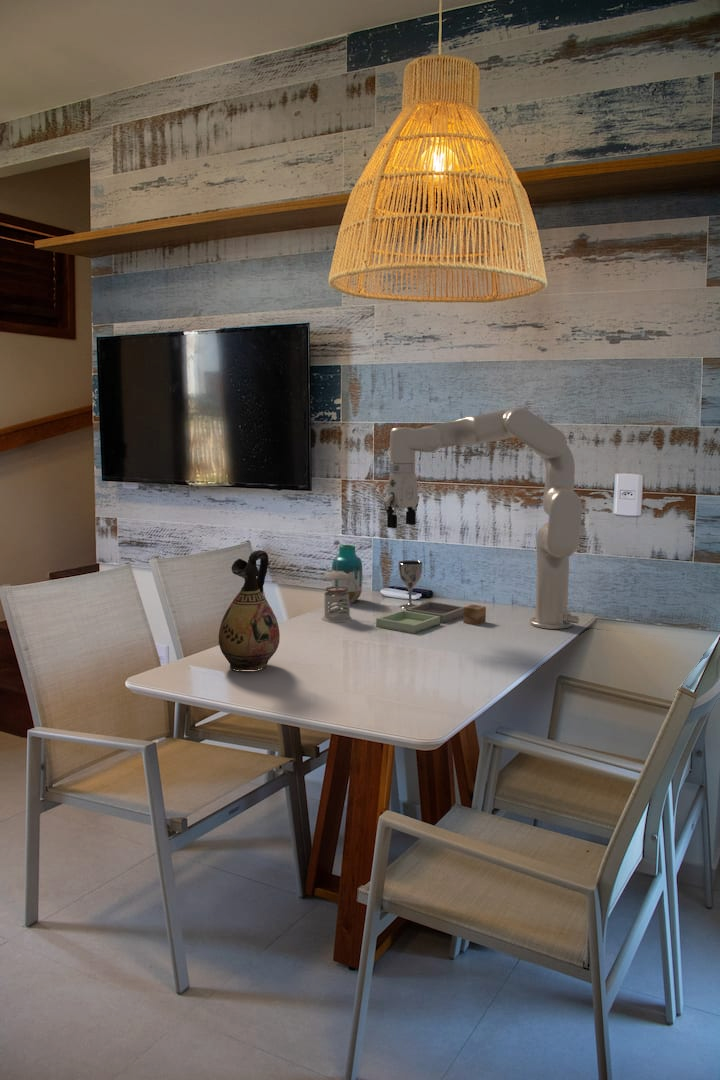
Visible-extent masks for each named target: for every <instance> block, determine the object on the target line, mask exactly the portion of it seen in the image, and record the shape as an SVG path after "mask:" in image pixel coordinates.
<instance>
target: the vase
mask: <svg viewBox="0 0 720 1080" xmlns="http://www.w3.org/2000/svg"><path fill="white" fill-rule="evenodd" d="M338 549H339V550H338V554H337V555H336V556H335V557H334V558H333V560H332V563H331V564H332V566H331V572H333V571H336V570H337V571H341V572H344V573H346V574H348V575H349V576H350V577H349V578H348V579H350V580H352V581H353V582H355V583H356V585H357V587H358V595H357V587H356V589H355V586H356V585H354V583H353V582H352V581H350V584H349V580H348V579H345V580H331V587H333V586H342V587H346V588H348V590H347V591H345V592H347V593H348V594H349V601H350V600H352V599H353V598H354V596H355V598H356V595H357V598H356V599H355V598H354V599H355V600H354V599H353V600H352V601H356V600H357V599H359V598H360V596H361V594H362V591H363V579H364V578H363V574H364V572H363V562H362V560H361V558H360V557H359V556H357V553H356V546H355V545H354V544H340V545H339V548H338ZM347 580H348V583H347ZM355 592H356V595H355ZM333 596H341V595H338V594H335V595H333ZM340 601H343V600H340ZM352 601H350V602H352Z"/></svg>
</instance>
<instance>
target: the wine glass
mask: <svg viewBox="0 0 720 1080" xmlns="http://www.w3.org/2000/svg"><path fill="white" fill-rule="evenodd" d="M422 573H423V561H419V560H408V559H407V560H399V561H398V574H399V575H398V576H399V579H400V580H401V582H402V583H403V584H404V585H405V586H406V589H407V590H408V591H407V592H408V603H404V604H400V605H399V608H400V609H405V610H406V609H407V608H411V607H414V606H417V605H418V604H415V603H413V602H412V595H413V589H414V588H415V586H416V585H417V584H418V583H419V581H420V580H421V578H422Z"/></svg>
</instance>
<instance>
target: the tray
mask: <svg viewBox="0 0 720 1080" xmlns="http://www.w3.org/2000/svg"><path fill="white" fill-rule="evenodd" d="M375 625H376V626H375V627H376V628H381V629H387V630H393V631H398V632H404V633H409V634H413V635H414V634H417V633H418V634H419V633H420V632H423V631H426V630H428V629H431V628H434V627H437V626H440V625H441V623H440V617H439V616H434V615H428V614H422V613H416V612H410V611H406V610H403V609H402V610H399V611H395V612H393V613H389V614H386V615H383V616H380V617H377V618H376V619H375Z"/></svg>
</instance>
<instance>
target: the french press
mask: <svg viewBox="0 0 720 1080" xmlns="http://www.w3.org/2000/svg"><path fill="white" fill-rule="evenodd" d="M333 545H336V546H338V545H341V542H340V541H339V540H334V541H333ZM349 577H350V576H349V575H348V574H346V573H344V572H341V571H337V570H336V571H333V572H332V571H329V572H327V573H326V574H324V575H323V578H324V579H326V580H328V581H329V580H331V581H332V580H345V579H348V578H349ZM348 580H349V584H350V581H352V580H350V579H348ZM348 580H347V583H348ZM352 582H353V581H352ZM353 583H354V585H356V583H355V582H353ZM356 587H357V585H356V586H355V589H356ZM347 590H348V588H346V587H342V586H333V587H332V586H328V587H325V591H326V592H325V593H323V595H324V598H323V599H324V601H323V602H324V606H323V607H324V608H323V609H324V613H323V614H324V615H323V616H322V617H321V621H322V622H326V623H331V624H333V623H334V624H339V623H349V622H351V621H352V620H353V618H352V617H351V616H350V615H351V613H350V611H351V609H350V606H351V604H352V603H354V602H355V601H356V600H357V599H356V598H357V595H358V587H357V595H356V592H355V595H356V598H355V596H354V598H355V599H356V600H355V599H354V598H353V599H354V600H353V599H352V600H353V601H352V600H350V601H349V594H348V593H347V592H345V591H347ZM335 594H338V595H341V596H334V595H335ZM341 600H343V601H341Z"/></svg>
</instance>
